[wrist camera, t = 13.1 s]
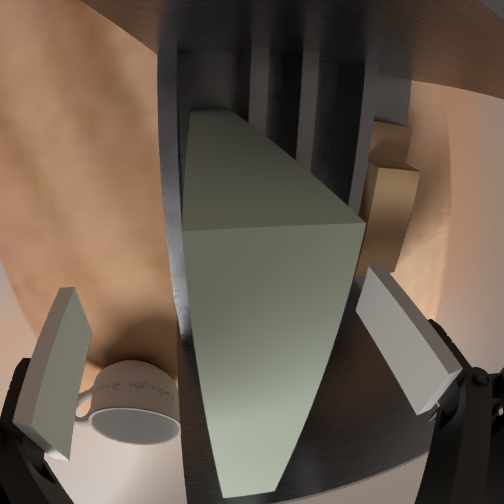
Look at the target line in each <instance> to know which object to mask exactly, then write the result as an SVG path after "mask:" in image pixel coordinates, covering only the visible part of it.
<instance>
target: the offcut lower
mask: <svg viewBox="0 0 504 504" xmlns="http://www.w3.org/2000/svg"><path fill="white" fill-rule="evenodd" d="M410 135H411V127H408V126H405V125H402V124H399V123H395V122H390V121H384V120H378V119H374V122H373V130H372V137H371V145H370V152H369V158H368V160H375V161H386V162H396V163H405V164H406V159H407V153H408V147H409V141H410Z"/></svg>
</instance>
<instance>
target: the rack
mask: <svg viewBox="0 0 504 504" xmlns="http://www.w3.org/2000/svg"><path fill="white" fill-rule="evenodd" d="M81 1H82V2H84V3H85V4H87V5H88V6H90V7H91V8H93V9H94V10H96V11H97V12H99V13H100V14H102V15H103V16H105V17H106V18H108V19H109V20H111V21H112V22H113V23H115V24H116V25H118V26H119V27H121V28H122V29H123V30H125V31H126V32H128V33H129V34H130V35H132V36H133V37H134V38H136V39H137V40H138V41H140V42H141V43H142V44H144V45H145V46H146V47H148V48H149V49H150V50H152V51H153V52H154V53H156V54H157V55H158V67H157V93H158V133H159V154H160V171H161V185H162V197H163V209H164V219H165V229H166V239H167V247H168V256H169V264H170V271H171V279H172V286H173V293H174V300H175V306H176V313H177V364H178V394H179V414H180V430H181V444H182V456H183V468H184V478H185V486H186V496H187V504H284V503H289V502H293V501H298V500H302V499H306V498H310V497H314V496H318V495H322V494H325V493H329V492H332V491H336V490H339V489H342V488H345V487H348V486H351V485H354V484H357V483H360V482H363V481H366V480H368V479H371V478H374V477H376V476H379V475H381V474H384V473H386V472H389V471H391V470H393V469H396V468H398V467H401V466H403V465H405V464H407V463H409V462H411V461H414V460H416V459H418V458H420V457H422V456H424V455H426V454H428V453H429V450H430V445H431V441H432V436H433V431H434V425H435V422H434V421H435V420H436V416H435V417H434V419H433V420H432V421H429V419H430V417H431V416H432V414H433V413H434V412H435V411H436V410H437V409H438V408H439V407H438V406H437V404H436V403H435V405H434V406H433V407H432V408H431V409H430V410H428V411H426V412H423V413H421V414H419V415H416V413H415V411H414V409H413V407H412V406H411V404H410V402H409V400H408V398H407V397H406V395H405V393H404V391H403V389H402V388H401V386H400V384H399V382H398V381H397V379H396V377H395V375H394V374H393V372H392V370H391V368H390V367H389V365H388V363H387V362H386V360H385V358H384V357H383V355H382V353H381V351H380V350H379V348H378V346H377V345H376V343H375V341H374V340H373V338H372V336H371V335H370V333H369V331H368V330H367V328H366V327H365V325H364V323H363V322H362V320H361V318H360V317H359V315H358V314H357V312H356V307H357V304H358V301H359V298H360V295H361V291H362V288H363V285H364V281H365V278H366V276H357V277H355V276H353V280H352V284H351V287H350V291H349V295H348V298H347V302H346V305H345V309H344V312H343V316H342V319H341V322H340V326H339V329H338V332H337V335H336V338H335V341H334V345H333V348H332V351H331V354H330V357H329V360H328V363H327V365H326V368H325V371H324V374H323V377H322V380H321V382H320V385H319V388H318V391H317V393H316V396H315V399H314V401H313V404H312V407H311V409H310V412H309V414H308V417H307V419H306V422H305V424H304V427H303V429H302V431H301V434H300V436H299V439H298V441H297V443H296V446H295V448H294V450H293V453H292V455H291V457H290V459H289V461H288V464H287V466H286V468H285V470H284V472H283V474H282V477H281V479H280V481H279V483H278V485H277V487H276V489H275V491H272V492H266V493H260V494H253V495H246V496H238V497H229V498H223V495H222V491H221V487H220V483H219V478H218V474H217V469H216V465H215V460H214V455H213V451H212V446H211V441H210V436H209V431H208V425H207V420H206V415H205V409H204V403H203V398H202V392H201V386H200V380H199V373H198V367H197V360H196V354H195V347H194V340H193V332H192V325H191V317H190V309H189V300H188V291H187V282H186V273H185V262H184V252H183V240H182V215H183V196H184V180H185V166H186V153H187V142H188V131H189V121H190V111H191V109H197V108H229V109H230V110H231V111H233V112H234V113H236V114H237V115H238V116H240V117H241V118H242V119H244V120H245V121H246V122H248V123H249V124H250V125H252V126H253V127H254V128H256V129H257V130H258V131H260V132H261V133H262V134H263V135H265V136H266V137H267V138H269V139H270V140H271V141H272V142H274V143H275V144H276V145H277V146H279V147H280V148H281V149H282V150H284V151H285V152H286V153H287V154H288V155H290V156H291V157H292V158H293V159H295V160H296V161H297V162H298V163H299V164H301V165H302V166H303V167H304V168H305V169H307V170H308V171H309V172H310V173H311V174H312V175H314V176H315V177H316V178H317V179H318V180H319V181H320V182H322V183H323V184H324V185H325V186H326V187H327V188H328V189H330V190H331V191H332V192H333V193H334V194H335V195H336V196H337V197H339V198H340V199H341V200H342V201H343V202H344V203H345V204H346V205H347V206H348V207H349V208H351V209H352V210H353V211H354V212H355V213H356V214H357V215H358V216H359V210H360V205H361V200H362V194H363V189H364V183H365V177H366V171H367V165H368V158H369V152H370V145H371V137H372V130H373V122H374V119H378V120H384V121H390V122H395V123H399V124H402V125H405V126H406V122H407V114H408V106H409V97H410V87H411V80H413V81H421V82H427V83H433V84H439V85H445V86H450V87H455V88H460V89H465V90H470V91H474V92H478V93H482V94H486V95H490V96H493V97H497V98H501V99H504V0H81Z"/></svg>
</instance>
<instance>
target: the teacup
mask: <svg viewBox="0 0 504 504" xmlns="http://www.w3.org/2000/svg"><path fill="white" fill-rule="evenodd" d="M90 399H91V408H90V410H89V412H88V413H87V414H86V415H85V416H84V417H81V418H80V417H77V416H76V413H75V419H74V424H75V425H78V426H81V427H84V426H88V425H90V426H91V427H92V428H93V429H94V430H95V431H96V432H98V433H99V434H101V435H103V436H105V437H107V438H109V439H112V440H115V441H118V442H123V443H128V444H135V445H158V444H164V443H168V442H171V441H174V440H176V439H177V438H179V437H180V436H181V430H180V414H179V394H178V389H177V386H176V384H175V382H174V381H173V379H172V378H171V377H170V376H169V375H168V374H166V373H165V372H164V371H162V370H160V369H159V368H157V367H156V366H154V365H152V364H150V363H147V362H143V361H138V360H124V361H120V362H117V363H115V364H112V365H109V366H107V367H105V368H104V369H103V370H102V371H100V373H99V374H98V375H97V377H96V379H95V382H94V386H92V387H91V389H89V390H87V391H84V392H82V393H80V394H79V395H78V401H77V407H76V409H77V408H78V406H80V405H81V404H82V403H84V402H86V401H87V400H90Z"/></svg>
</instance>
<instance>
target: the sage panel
mask: <svg viewBox="0 0 504 504" xmlns="http://www.w3.org/2000/svg"><path fill="white" fill-rule="evenodd" d="M365 226H366V223H365V222H364V221H363V220H362V219H361V218H360V217H359V216H358V215H357V214H356V213H355V212H354V211H353V210H352V209H351V208H349V207H348V206H347V205H346V204H345V203H344V202H343V201H342V200H341V199H340V198H339V197H337V196H336V195H335V194H334V193H333V192H332V191H331V190H330V189H328V188H327V187H326V186H325V185H324V184H323V183H322V182H320V181H319V180H318V179H317V178H316V177H315V176H314V175H312V174H311V173H310V172H309V171H308V170H307V169H305V168H304V167H303V166H302V165H301V164H299V163H298V162H297V161H296V160H295V159H293V158H292V157H291V156H290V155H288V154H287V153H286V152H285V151H284V150H282V149H281V148H280V147H279V146H277V145H276V144H275V143H274V142H272V141H271V140H270V139H269V138H267V137H266V136H265V135H263V134H262V133H261V132H260V131H258V130H257V129H256V128H254V127H253V126H252V125H250V124H249V123H248V122H246V121H245V120H244V119H242V118H241V117H240V116H238V115H237V114H236V113H234V112H233V111H231V110H230V109H229V108H197V109H191V111H190V121H189V131H188V142H187V153H186V166H185V180H184V196H183V215H182V240H183V252H184V262H185V273H186V282H187V291H188V300H189V309H190V317H191V325H192V332H193V340H194V347H195V354H196V360H197V367H198V373H199V380H200V386H201V392H202V398H203V403H204V409H205V415H206V420H207V425H208V431H209V436H210V441H211V446H212V451H213V455H214V460H215V465H216V469H217V474H218V478H219V483H220V487H221V491H222V495H223V498H229V497H238V496H246V495H253V494H260V493H266V492H272V491H275V489H276V487H277V485H278V483H279V481H280V479H281V477H282V474H283V472H284V470H285V468H286V466H287V464H288V461H289V459H290V457H291V455H292V453H293V450H294V448H295V446H296V443H297V441H298V439H299V436H300V434H301V431H302V429H303V427H304V424H305V422H306V419H307V417H308V414H309V412H310V409H311V407H312V404H313V401H314V399H315V396H316V393H317V391H318V388H319V385H320V382H321V380H322V377H323V374H324V371H325V368H326V365H327V363H328V360H329V357H330V354H331V351H332V348H333V345H334V341H335V338H336V335H337V332H338V329H339V326H340V322H341V319H342V316H343V312H344V309H345V305H346V302H347V298H348V295H349V291H350V287H351V284H352V280H353V276H354V272H355V269H356V265H357V261H358V257H359V252H360V248H361V244H362V240H363V235H364V231H365Z"/></svg>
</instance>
